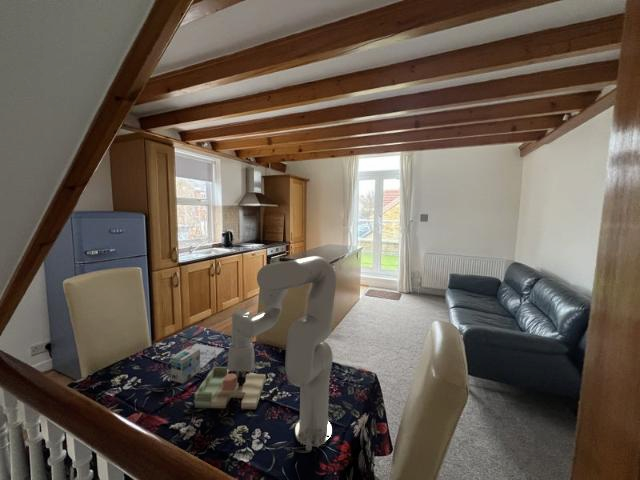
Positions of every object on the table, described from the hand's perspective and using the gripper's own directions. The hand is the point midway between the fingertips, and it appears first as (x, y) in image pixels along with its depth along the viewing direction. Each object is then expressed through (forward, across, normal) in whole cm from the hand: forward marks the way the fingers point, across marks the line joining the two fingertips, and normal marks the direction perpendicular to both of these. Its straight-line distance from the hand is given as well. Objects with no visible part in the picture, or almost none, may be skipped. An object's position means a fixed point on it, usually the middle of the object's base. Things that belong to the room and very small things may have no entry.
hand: (241, 384), depth 108 cm
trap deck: (+4, -3, 0) cm, 5 cm away
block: (+1, -4, 0) cm, 5 cm away
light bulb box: (+4, -28, +10) cm, 30 cm away
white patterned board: (+4, -30, +27) cm, 41 cm away
